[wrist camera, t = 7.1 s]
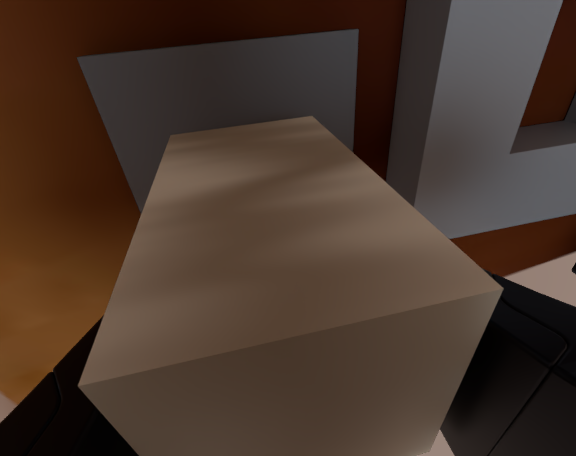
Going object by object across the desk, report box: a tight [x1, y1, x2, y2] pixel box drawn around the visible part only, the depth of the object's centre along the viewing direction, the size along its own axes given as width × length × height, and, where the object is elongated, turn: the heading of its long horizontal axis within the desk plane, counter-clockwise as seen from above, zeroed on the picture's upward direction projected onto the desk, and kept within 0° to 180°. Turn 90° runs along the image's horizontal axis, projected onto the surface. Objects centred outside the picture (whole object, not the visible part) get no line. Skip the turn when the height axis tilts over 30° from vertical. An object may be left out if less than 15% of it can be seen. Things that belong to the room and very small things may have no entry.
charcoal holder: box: [386, 0, 576, 239], centre depth 12 cm, size 13×13×2 cm
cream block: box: [78, 116, 504, 456], centre depth 8 cm, size 4×4×8 cm
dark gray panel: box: [77, 29, 359, 214], centre depth 13 cm, size 9×9×1 cm
